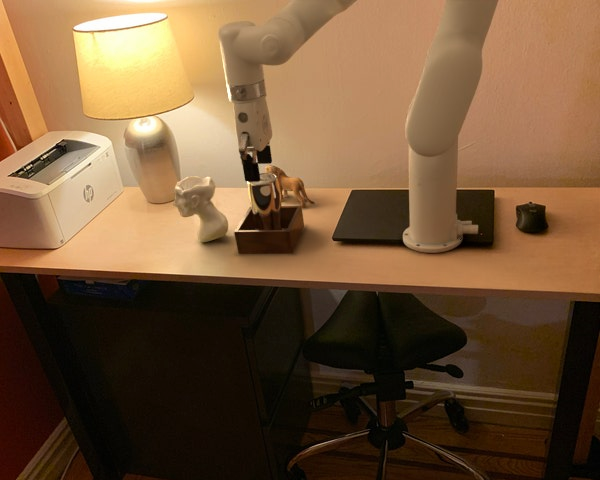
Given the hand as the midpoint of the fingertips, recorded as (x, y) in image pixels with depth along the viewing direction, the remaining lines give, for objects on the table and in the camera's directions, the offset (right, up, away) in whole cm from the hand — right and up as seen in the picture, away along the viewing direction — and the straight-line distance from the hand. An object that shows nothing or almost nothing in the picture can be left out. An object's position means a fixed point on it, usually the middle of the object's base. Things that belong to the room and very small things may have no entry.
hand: (259, 171), depth 127 cm
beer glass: (+2, -14, +9) cm, 17 cm away
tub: (+2, -14, +9) cm, 17 cm away
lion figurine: (+6, -2, +26) cm, 27 cm away
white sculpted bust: (-13, -13, +13) cm, 23 cm away
